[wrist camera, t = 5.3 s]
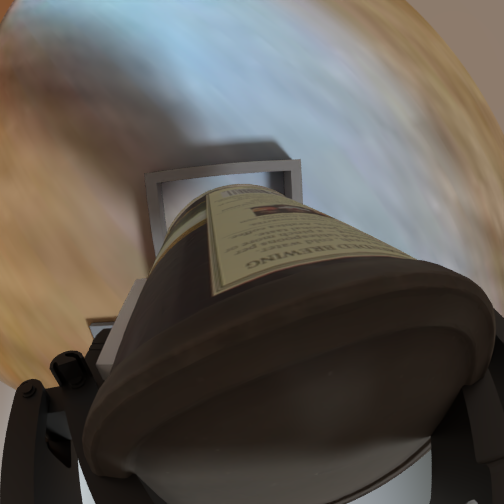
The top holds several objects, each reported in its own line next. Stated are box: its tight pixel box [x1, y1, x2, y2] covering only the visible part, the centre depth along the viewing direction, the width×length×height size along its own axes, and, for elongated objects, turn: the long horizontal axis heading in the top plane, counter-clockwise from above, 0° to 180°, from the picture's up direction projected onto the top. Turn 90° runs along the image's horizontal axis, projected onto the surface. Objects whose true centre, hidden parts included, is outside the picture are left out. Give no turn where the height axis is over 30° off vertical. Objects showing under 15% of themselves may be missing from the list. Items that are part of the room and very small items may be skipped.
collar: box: [144, 159, 303, 257], centre depth 26 cm, size 14×14×2 cm
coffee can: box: [82, 184, 496, 504], centre depth 11 cm, size 10×10×14 cm
